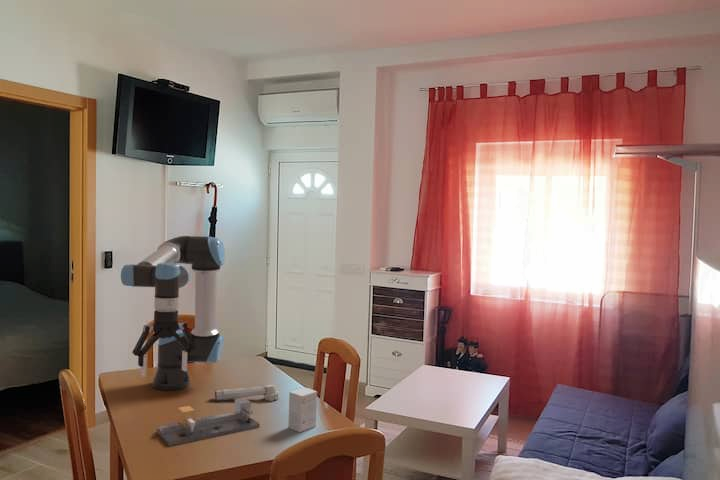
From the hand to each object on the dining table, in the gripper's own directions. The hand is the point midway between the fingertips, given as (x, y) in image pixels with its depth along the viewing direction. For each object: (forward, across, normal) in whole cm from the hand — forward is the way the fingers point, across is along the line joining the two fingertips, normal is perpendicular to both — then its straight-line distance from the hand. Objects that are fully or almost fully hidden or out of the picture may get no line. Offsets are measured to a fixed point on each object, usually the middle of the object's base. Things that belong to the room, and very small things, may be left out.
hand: (164, 373), depth 186 cm
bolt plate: (+21, +15, -3) cm, 26 cm away
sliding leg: (+19, +8, -2) cm, 21 cm away
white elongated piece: (+21, +40, +18) cm, 49 cm away
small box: (+21, +44, -18) cm, 52 cm away
